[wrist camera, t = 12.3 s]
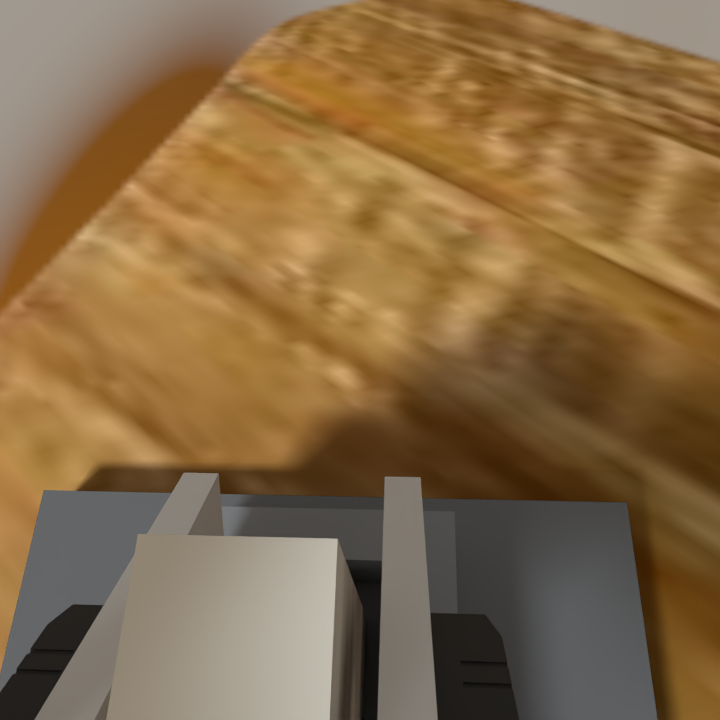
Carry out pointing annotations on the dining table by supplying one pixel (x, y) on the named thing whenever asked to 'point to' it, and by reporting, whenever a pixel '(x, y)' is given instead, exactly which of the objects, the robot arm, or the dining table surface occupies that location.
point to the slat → (240, 631)
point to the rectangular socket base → (445, 582)
